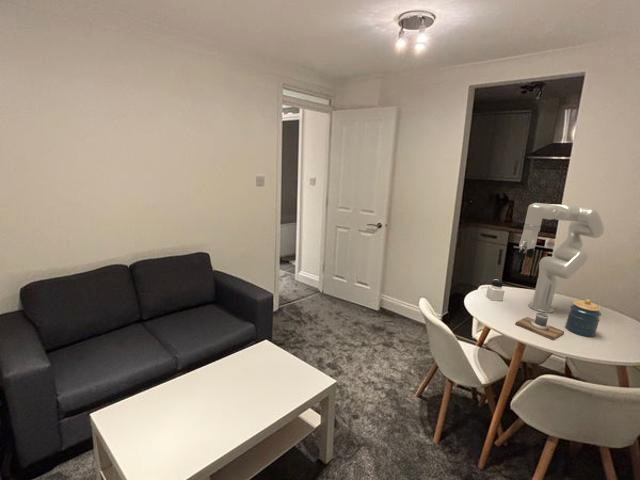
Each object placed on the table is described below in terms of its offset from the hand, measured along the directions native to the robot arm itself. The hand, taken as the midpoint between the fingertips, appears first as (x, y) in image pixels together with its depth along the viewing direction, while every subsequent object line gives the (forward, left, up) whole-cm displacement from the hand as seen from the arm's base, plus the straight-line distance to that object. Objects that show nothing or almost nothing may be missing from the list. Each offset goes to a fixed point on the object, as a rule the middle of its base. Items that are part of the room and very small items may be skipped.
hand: (525, 258), depth 192 cm
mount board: (+9, +17, -32) cm, 38 cm away
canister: (-10, +29, -32) cm, 45 cm away
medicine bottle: (-10, -17, -32) cm, 38 cm away
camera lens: (+9, +17, -29) cm, 35 cm away
